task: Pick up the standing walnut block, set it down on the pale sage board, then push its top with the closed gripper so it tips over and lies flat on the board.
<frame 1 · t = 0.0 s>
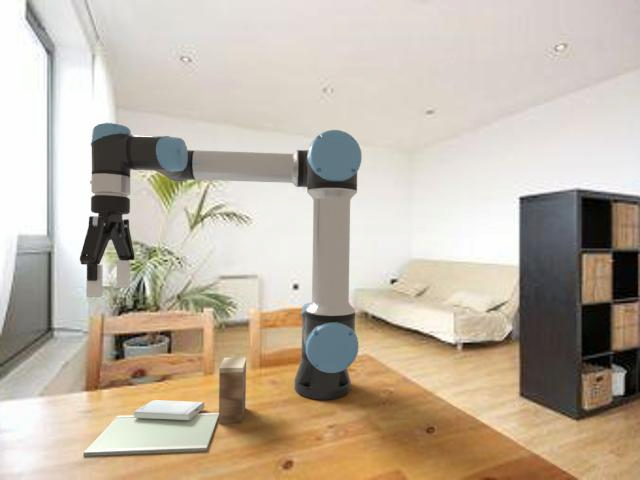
hand: (109, 291, 83), 28 cm above the table, fingers open, 13 cm apart
hard drive: (170, 414, 84), on the table, touching board
board: (158, 433, 76), on the table
walnut block: (232, 415, 85), on the table
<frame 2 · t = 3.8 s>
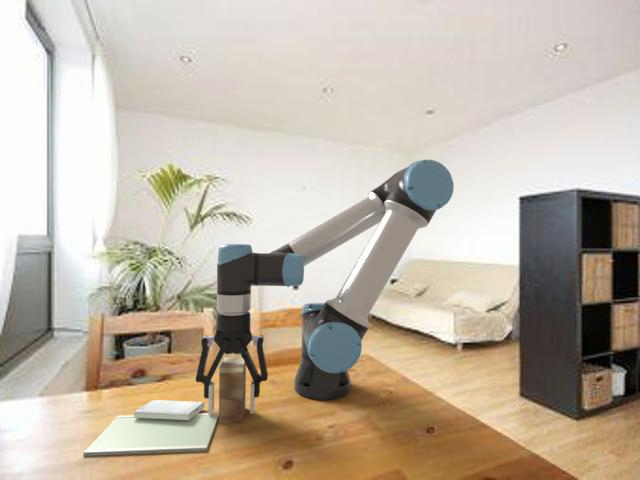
hand: (231, 411, 85), 1 cm above the table, fingers open, 8 cm apart
hard drive: (170, 414, 84), on the table, touching board
everything else where it was.
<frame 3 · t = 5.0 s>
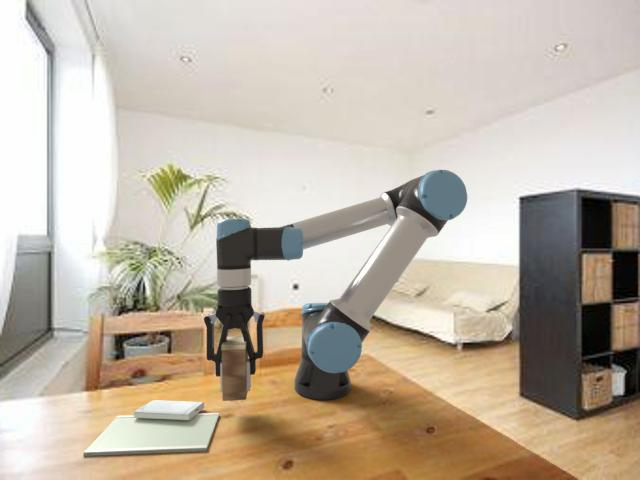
hand: (236, 389, 85), 6 cm above the table, fingers closed on walnut block, 5 cm apart
hard drive: (170, 414, 84), on the table, touching board
walnut block: (236, 393, 85), point 5 cm above the table, touching gripper
when the fingers open (2 cm above the table, at t = 9.8 s): walnut block moves 5 cm and tips over, resting on board.
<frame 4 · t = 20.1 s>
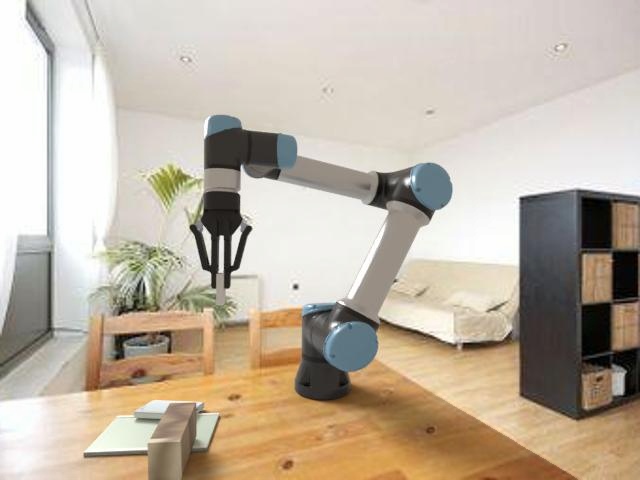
hand: (220, 304, 78), 26 cm above the table, fingers closed
walnut block: (183, 419, 73), point 5 cm above the table, tilted 96°, touching board
everything else where it was.
at the end: walnut block tilted 96°; walnut block inside the target area (7.7 cm from its centre), point 4.5 cm above the table; the gripper is holding nothing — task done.
